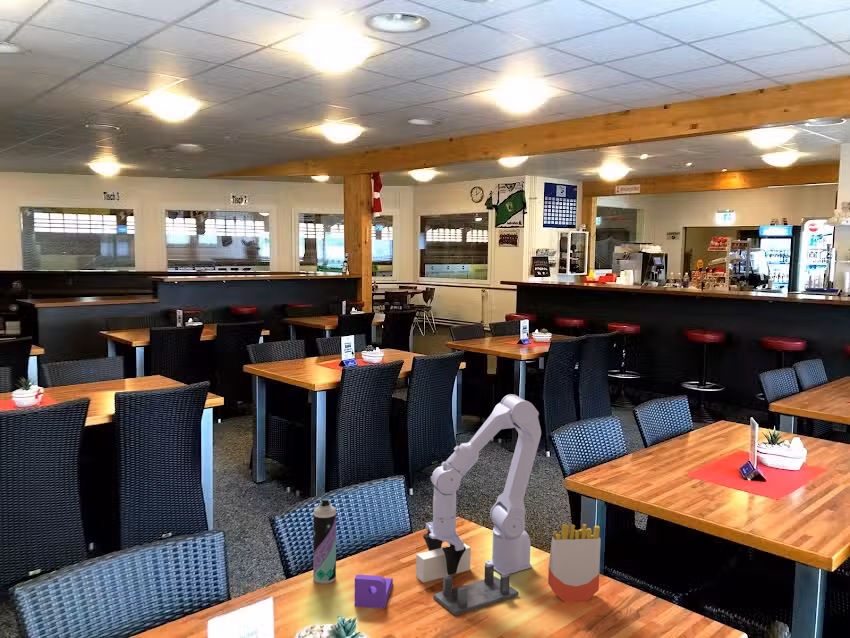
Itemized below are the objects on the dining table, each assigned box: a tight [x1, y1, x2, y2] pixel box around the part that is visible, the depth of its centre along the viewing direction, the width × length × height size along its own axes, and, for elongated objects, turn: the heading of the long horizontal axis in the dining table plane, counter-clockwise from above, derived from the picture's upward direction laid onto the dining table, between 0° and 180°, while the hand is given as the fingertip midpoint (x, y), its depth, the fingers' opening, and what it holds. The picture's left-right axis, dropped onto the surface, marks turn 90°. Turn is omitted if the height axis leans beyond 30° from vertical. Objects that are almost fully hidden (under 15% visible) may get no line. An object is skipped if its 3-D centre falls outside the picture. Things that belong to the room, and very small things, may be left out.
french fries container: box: [547, 523, 602, 602], centre depth 157 cm, size 5×11×18 cm, turn 95°
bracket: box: [354, 574, 393, 609], centre depth 157 cm, size 12×7×7 cm, turn 174°
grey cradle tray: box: [432, 564, 520, 617], centre depth 156 cm, size 18×9×5 cm, turn 121°
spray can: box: [312, 498, 337, 585], centre depth 163 cm, size 6×6×20 cm
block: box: [415, 543, 472, 584], centre depth 168 cm, size 14×4×6 cm, turn 122°
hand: (443, 567), depth 168 cm, fingers open, 7 cm apart
